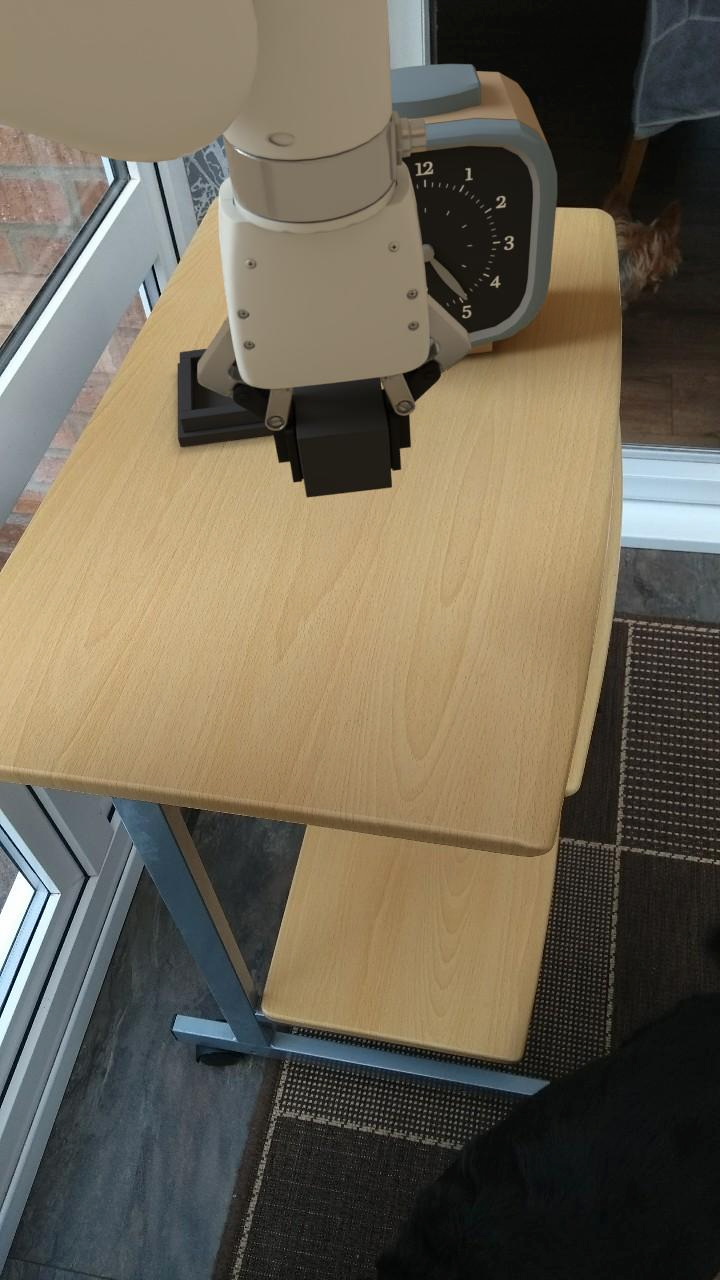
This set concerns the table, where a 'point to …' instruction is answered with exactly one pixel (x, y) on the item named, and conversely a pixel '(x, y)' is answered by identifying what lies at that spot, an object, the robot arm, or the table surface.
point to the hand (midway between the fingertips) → (345, 457)
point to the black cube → (343, 437)
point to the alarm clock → (480, 196)
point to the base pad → (210, 409)
